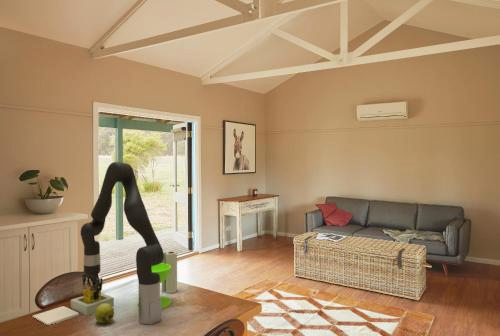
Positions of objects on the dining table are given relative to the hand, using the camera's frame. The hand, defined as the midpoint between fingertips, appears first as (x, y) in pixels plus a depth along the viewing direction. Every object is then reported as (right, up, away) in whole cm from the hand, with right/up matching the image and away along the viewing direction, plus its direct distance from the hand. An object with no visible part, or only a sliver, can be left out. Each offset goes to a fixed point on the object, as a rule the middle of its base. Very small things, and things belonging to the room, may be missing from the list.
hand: (92, 297), depth 182 cm
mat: (-12, -5, -11) cm, 17 cm away
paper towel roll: (+33, -4, +22) cm, 40 cm away
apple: (+12, -5, -17) cm, 21 cm away
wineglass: (+29, -5, +5) cm, 30 cm away
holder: (0, -5, 0) cm, 5 cm away
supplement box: (0, -5, 0) cm, 5 cm away
